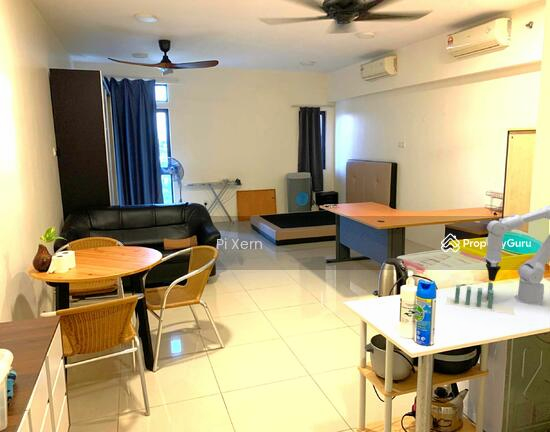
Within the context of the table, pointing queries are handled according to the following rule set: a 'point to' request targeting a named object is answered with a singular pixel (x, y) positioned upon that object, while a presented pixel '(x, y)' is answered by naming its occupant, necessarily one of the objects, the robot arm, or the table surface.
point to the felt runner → (482, 306)
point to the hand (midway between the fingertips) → (491, 277)
